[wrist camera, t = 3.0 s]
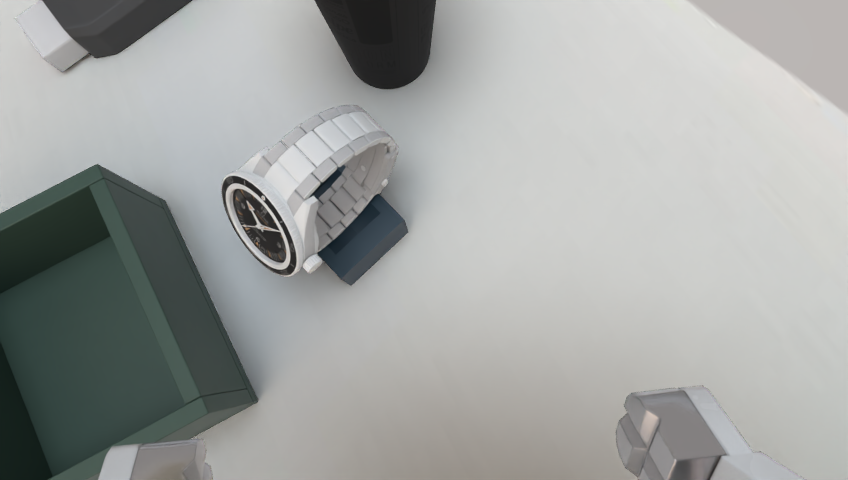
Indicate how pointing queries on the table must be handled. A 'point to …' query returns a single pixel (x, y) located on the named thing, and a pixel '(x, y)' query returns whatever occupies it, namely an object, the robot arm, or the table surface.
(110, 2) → the usb drive
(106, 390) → the open box
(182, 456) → the robot arm
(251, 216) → the watch
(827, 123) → the table surface
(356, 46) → the drinking cup
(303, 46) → the table surface
